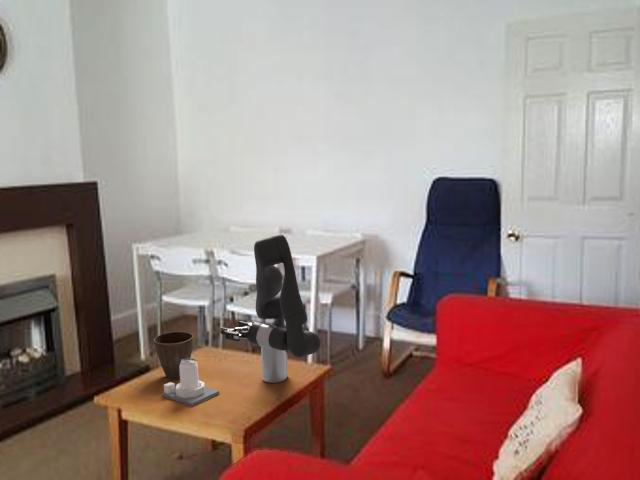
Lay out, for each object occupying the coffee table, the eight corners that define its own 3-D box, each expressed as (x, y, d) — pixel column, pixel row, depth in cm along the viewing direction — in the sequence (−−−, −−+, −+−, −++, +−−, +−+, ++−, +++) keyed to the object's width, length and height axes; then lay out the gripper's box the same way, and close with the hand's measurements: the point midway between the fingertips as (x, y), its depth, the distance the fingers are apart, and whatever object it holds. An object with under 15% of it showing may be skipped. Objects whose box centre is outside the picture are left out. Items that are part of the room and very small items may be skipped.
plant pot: (186, 384, 234) (183, 344, 232) (149, 382, 237) (147, 342, 235) (201, 370, 249) (199, 332, 246) (166, 368, 252) (164, 331, 249)
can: (197, 395, 221) (195, 363, 219) (179, 396, 220) (177, 364, 219) (200, 388, 227) (198, 357, 225) (182, 389, 227) (180, 358, 225)
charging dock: (189, 384, 235) (189, 374, 234) (219, 394, 225) (218, 383, 224) (162, 396, 224) (161, 385, 224) (191, 406, 215) (191, 395, 214)
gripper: (279, 318, 206) (244, 311, 216) (249, 329, 195) (214, 321, 205) (279, 340, 208) (245, 332, 217) (250, 352, 196) (215, 343, 206)
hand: (230, 327), depth 211 cm, fingers open, 8 cm apart
